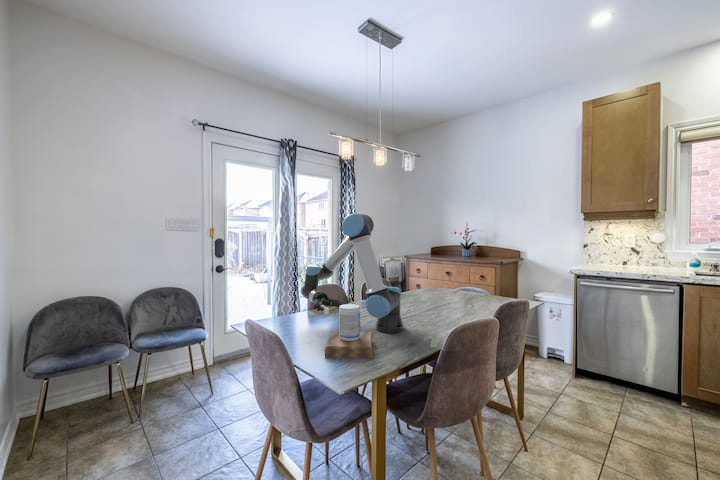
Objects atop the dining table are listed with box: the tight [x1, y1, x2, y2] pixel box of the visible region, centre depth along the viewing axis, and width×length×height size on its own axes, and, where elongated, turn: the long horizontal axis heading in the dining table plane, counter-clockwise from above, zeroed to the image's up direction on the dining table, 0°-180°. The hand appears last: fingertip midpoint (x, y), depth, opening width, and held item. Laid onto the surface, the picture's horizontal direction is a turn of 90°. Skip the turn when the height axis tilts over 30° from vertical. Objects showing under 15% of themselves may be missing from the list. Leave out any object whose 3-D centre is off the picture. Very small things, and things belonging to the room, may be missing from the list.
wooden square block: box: [324, 330, 373, 360], centre depth 139 cm, size 20×20×5 cm
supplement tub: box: [338, 303, 361, 341], centre depth 139 cm, size 10×10×15 cm
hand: (340, 311), depth 149 cm, fingers open, 13 cm apart
